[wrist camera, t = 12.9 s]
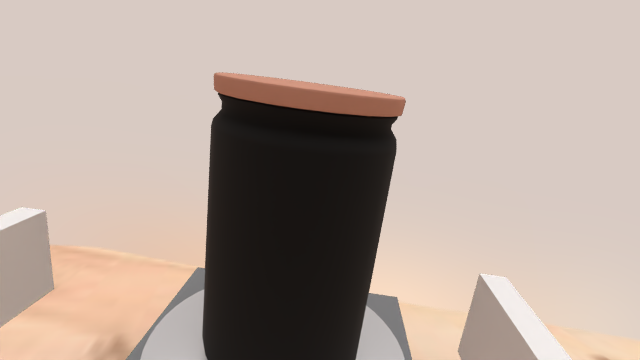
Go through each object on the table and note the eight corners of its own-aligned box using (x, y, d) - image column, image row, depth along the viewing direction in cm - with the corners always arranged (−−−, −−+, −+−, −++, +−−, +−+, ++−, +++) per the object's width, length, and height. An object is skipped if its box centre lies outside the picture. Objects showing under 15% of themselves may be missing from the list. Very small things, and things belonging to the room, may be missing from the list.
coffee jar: (306, 288, 32) (334, 85, 27) (387, 374, 24) (449, 104, 19) (184, 319, 26) (190, 67, 21) (234, 449, 18) (264, 83, 13)
